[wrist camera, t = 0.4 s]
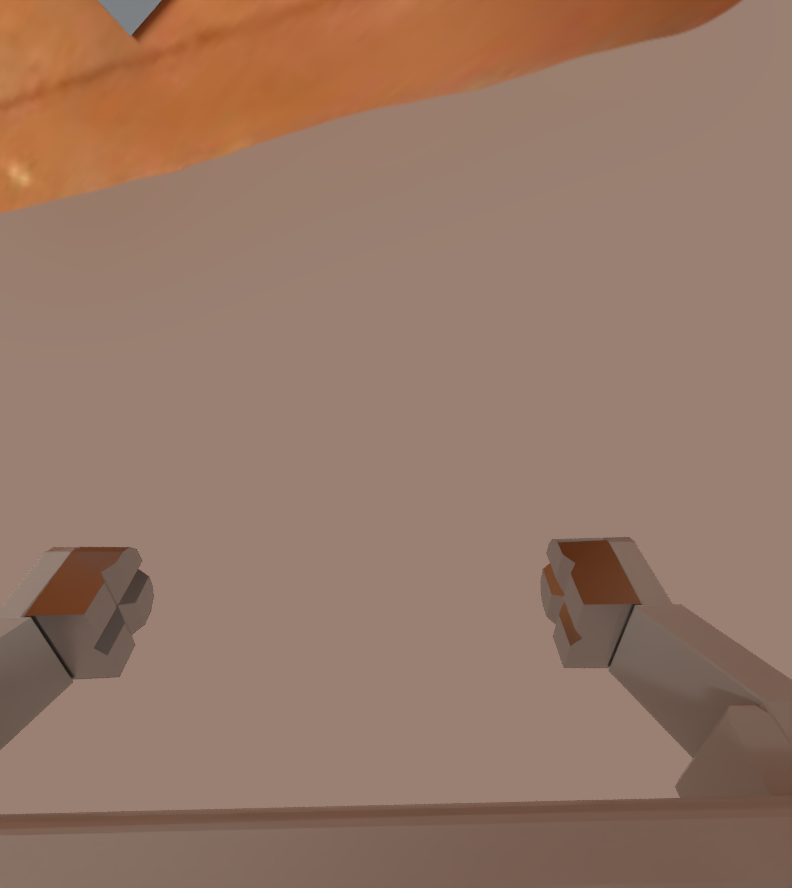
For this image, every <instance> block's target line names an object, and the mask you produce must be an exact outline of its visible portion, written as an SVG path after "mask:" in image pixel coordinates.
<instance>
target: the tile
mask: <svg viewBox="0 0 792 888" xmlns="http://www.w3.org/2000/svg"><path fill="white" fill-rule="evenodd" d="M98 1H99V2H100V3H101V4H102V5H103V6H104V8H105V9H106V10H107V11H108V12H109V13H110V14H111V15H112V16H113V18H114V19H115V20H116V21H117V22H118V23H119V24H120V25H121V26H122V28H123V29H124V30H125V31H126V32H127V33H128V34H129V35H130V36H131V35H132V34H133V33H134V32H135V30H136V29H137V28H138V27H139V26H140V25H141V23H142V22H143V21H144V20H145V19H146V18H147V17H148V15H149V14H150V13H151V12H152V11H153V10H154V9H155V7H156V6H157V5H158V4H159V3H160V2H161V0H98Z"/></svg>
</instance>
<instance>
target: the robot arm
mask: <svg viewBox="0 0 792 888" xmlns="http://www.w3.org/2000/svg"><path fill="white" fill-rule="evenodd" d="M547 556H548V558H549V561H550V564H548V565H547V566H546V567H545V568H544V569H543V572H542V577H541V597H542V602H543V607H544V610H545V613H546V616H547V617H548V618H549V619H550V620H551V621H553V622H554V623H555V624H556V627H555V631H554V635H553V637H554V641H555V643H556V646H557V649H558V652H559V655H560V658H561V661H562V664H563V667H564V668H609V671H610V672H611V673H612V675H613V676H614V677H615V678H617V680H618V681H619V682H620V683H621V684H622V685H623V686H624V687H625V688H626V689H627V690H628V691H629V692H630V693H631V694H632V695H633V696H634V697H635V698H636V699H637V700H638V701H639V703H640V704H641V705H642V706H643V707H644V708H645V709H646V710H647V711H648V712H649V713H650V714H651V715H652V716H653V717H654V718H655V719H656V720H657V721H658V722H659V723H660V724H661V725H662V726H663V728H665V730H666V731H667V732H668V733H669V734H670V735H671V736H672V737H673V738H674V739H675V740H676V741H677V742H678V743H679V744H680V745H681V746H682V747H683V748H684V749H685V750H686V751H687V752H688V754H689V755H690V756H691V757H692V758H693V759H692V761H691V762H690V764H689V765H688V767H687V768H686V770H685V771H684V773H683V774H682V775H681V777H680V778H679V780H678V782H677V784H676V786H675V787H676V789H677V792H678V794H679V796H680V798H664V799H661V798H660V799H620V800H619V799H618V800H581V801H580V800H577V801H535V802H495V803H494V802H493V803H452V804H413V805H412V804H411V805H373V806H372V805H368V806H331V807H330V806H329V807H328V806H326V807H288V808H287V807H285V808H244V809H201V810H161V811H121V812H79V813H42V814H41V813H39V814H3V815H1V814H0V888H792V680H791V679H790V678H788V677H786V676H785V675H784V674H782V673H781V672H779V671H778V670H776V669H775V668H773V667H772V666H771V665H769V664H768V663H766V662H765V661H763V660H762V659H760V658H759V657H757V656H756V655H754V654H753V653H751V652H750V651H748V650H747V649H746V648H744V647H743V646H741V645H740V644H738V643H737V642H735V641H734V640H732V639H731V638H729V637H728V636H727V635H725V634H724V633H722V632H721V631H719V630H718V629H716V628H715V627H713V626H712V625H710V624H709V623H707V622H706V621H705V620H703V619H702V618H700V617H699V616H697V615H696V614H694V613H693V612H691V611H690V610H689V609H687V608H686V607H684V606H683V605H681V604H680V605H679V604H672V602H671V600H670V599H669V597H668V596H667V594H666V592H665V591H664V589H663V587H662V586H661V584H660V582H659V581H658V579H657V578H656V576H655V574H654V573H653V571H652V569H651V568H650V566H649V565H648V563H647V561H646V560H645V558H644V556H643V555H642V553H641V552H640V550H639V549H638V547H637V545H636V543H635V542H634V540H632V539H631V538H630V537H615V538H583V539H582V538H581V539H552V540H551V542H550V543H549V546H548V550H547ZM141 562H142V559H141V557H140V555H139V553H138V551H137V549H135V548H130V547H54V548H52V549H50V550H48V551H46V552H45V553H44V554H43V555H42V556H41V557H40V559H39V560H38V562H36V564H35V565H34V566H33V567H32V569H31V570H30V571H29V572H28V574H27V575H26V576H25V577H24V579H23V580H22V581H21V582H20V584H19V585H18V586H17V587H16V588H15V590H14V591H13V592H12V593H11V595H10V596H9V597H8V599H7V600H6V601H5V602H4V603H3V605H2V606H1V607H0V750H1V749H2V748H3V747H4V746H5V745H6V744H7V743H8V742H9V741H10V740H12V739H13V738H14V737H15V736H16V735H17V734H18V733H19V732H20V731H21V730H22V729H23V728H24V727H25V726H27V725H28V724H29V723H30V722H31V721H32V720H33V719H34V718H35V717H36V716H37V715H38V714H39V713H40V712H42V711H43V710H44V709H45V708H46V707H47V706H48V705H49V704H50V703H51V702H52V701H53V700H54V699H55V698H56V697H58V696H59V695H60V694H61V693H62V692H63V691H64V690H65V689H66V688H67V687H68V686H69V685H71V683H73V680H72V679H91V678H111V677H120V675H121V673H122V671H123V669H124V667H125V664H126V663H127V661H128V659H129V657H130V654H131V652H132V650H133V648H134V646H135V643H134V640H133V637H132V634H133V633H135V632H136V631H137V630H139V629H140V628H141V627H142V626H144V625H145V623H146V621H147V619H148V617H149V615H150V612H151V608H152V603H153V597H154V595H153V585H152V583H151V580H150V578H149V576H147V575H146V574H145V573H143V572H142V571H140V570H139V569H138V568H139V566H140V564H141Z"/></svg>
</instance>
